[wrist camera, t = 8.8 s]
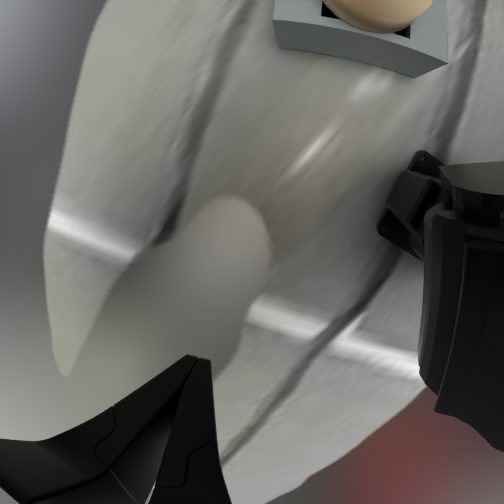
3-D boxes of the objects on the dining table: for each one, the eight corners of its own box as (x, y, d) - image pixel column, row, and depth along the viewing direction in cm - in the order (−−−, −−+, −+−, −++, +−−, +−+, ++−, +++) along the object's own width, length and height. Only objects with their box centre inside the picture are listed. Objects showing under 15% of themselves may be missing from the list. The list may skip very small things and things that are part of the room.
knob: (391, 4, 12) (429, -45, 5) (389, 66, 14) (436, 32, 7) (316, -13, 12) (320, -75, 6) (309, 48, 14) (314, -2, 8)
